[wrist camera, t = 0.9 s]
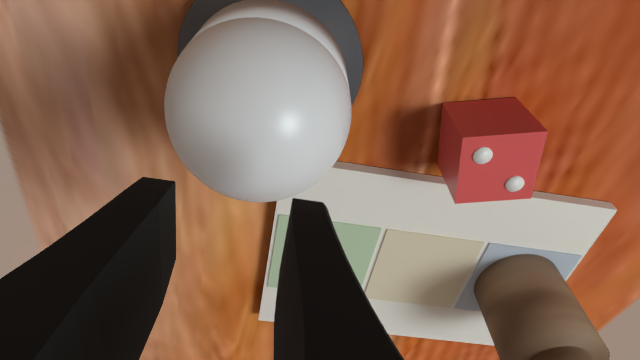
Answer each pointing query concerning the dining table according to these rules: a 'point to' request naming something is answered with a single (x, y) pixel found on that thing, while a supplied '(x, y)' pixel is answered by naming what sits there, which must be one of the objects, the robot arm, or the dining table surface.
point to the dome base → (320, 3)
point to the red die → (489, 150)
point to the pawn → (535, 312)
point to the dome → (259, 101)
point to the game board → (434, 244)
